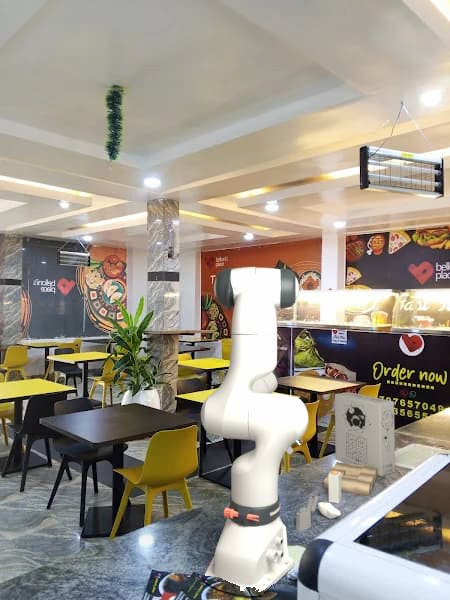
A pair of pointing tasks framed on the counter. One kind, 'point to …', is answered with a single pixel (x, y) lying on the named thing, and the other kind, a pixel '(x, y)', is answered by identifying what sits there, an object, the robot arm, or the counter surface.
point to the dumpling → (328, 510)
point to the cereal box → (365, 431)
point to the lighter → (306, 514)
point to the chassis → (355, 478)
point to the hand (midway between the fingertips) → (296, 448)
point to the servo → (335, 486)
